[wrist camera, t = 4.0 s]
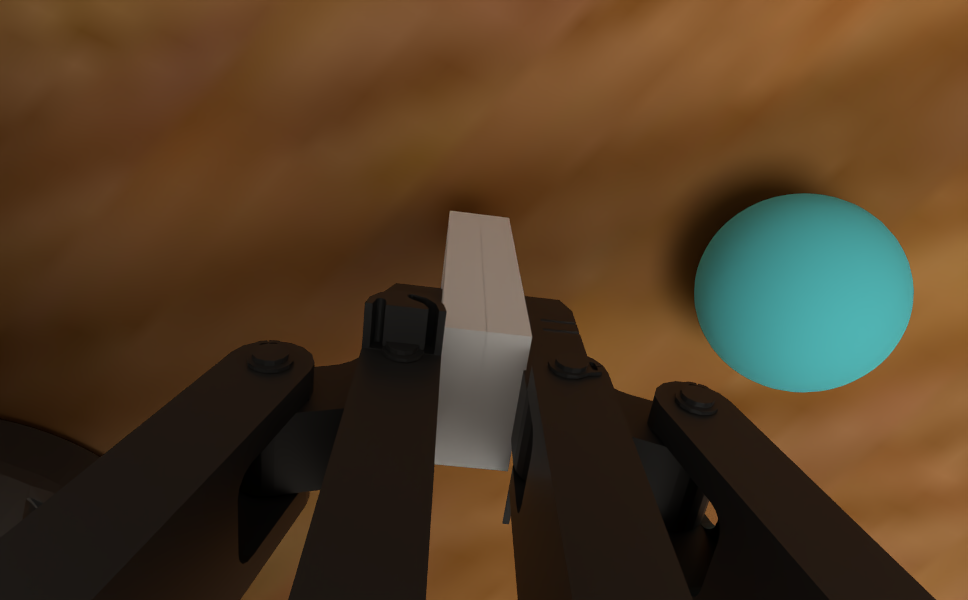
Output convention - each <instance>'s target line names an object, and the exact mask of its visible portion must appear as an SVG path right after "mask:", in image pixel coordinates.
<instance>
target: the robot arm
mask: <svg viewBox="0 0 968 600" xmlns="http://www.w3.org/2000/svg"><path fill="white" fill-rule="evenodd" d="M511 450H512V456H513V469H512V474H511V480H510V485H509V490H508V496H507V501H506V507H505V512H504V517H503V523H502V524H509V521H510V517H511V522H512V534H513V546H514V558H515V570H516V583H517V595H518V600H936V599H935V598H934V597H933V596H931V595H930V594H929V593H928V592H927V591H926V590H925V589H924V588H923V587H922V586H921V585H920V584H919V583H918V582H917V581H916V580H915V579H914V578H913V577H912V576H911V575H910V574H909V573H908V572H907V571H906V570H905V569H903V568H902V567H901V566H900V565H899V564H898V563H897V562H896V561H895V560H894V559H893V558H892V557H891V556H890V555H889V554H888V553H887V552H886V551H885V550H884V549H883V548H882V547H881V546H880V545H879V544H878V543H877V542H875V541H874V540H873V539H872V538H871V537H870V536H869V535H868V534H867V533H866V532H865V531H864V530H863V529H862V528H861V527H860V526H859V525H858V524H857V523H856V522H855V521H854V520H853V519H852V518H851V517H850V516H849V515H847V514H846V513H845V512H844V511H843V510H842V509H841V508H840V507H839V506H838V505H837V504H836V503H835V502H834V501H833V500H832V499H831V498H830V497H829V496H828V495H827V494H826V493H825V492H824V491H823V490H822V489H821V488H819V487H818V486H817V485H816V484H815V483H814V482H813V481H812V480H811V479H810V478H809V477H808V476H807V475H806V474H805V473H804V472H803V471H802V470H801V469H800V468H799V467H798V466H797V465H796V464H795V463H794V462H793V461H792V460H790V459H789V458H788V457H787V456H786V455H785V454H784V453H783V452H782V451H781V450H780V449H779V448H778V447H777V446H776V445H775V444H774V443H773V442H772V441H771V440H770V439H769V438H768V437H767V436H766V435H765V434H764V433H762V432H761V431H760V430H759V429H758V428H757V427H756V426H755V425H754V424H753V423H752V422H751V421H750V420H749V419H748V418H747V417H746V416H745V415H744V414H743V413H742V412H741V411H740V410H739V409H738V408H737V407H736V406H734V405H733V404H732V403H731V402H730V401H729V400H728V399H726V398H725V397H724V396H722V395H721V394H719V393H717V392H715V391H713V390H711V389H709V388H708V387H706V386H704V385H701V384H698V385H697V384H696V383H693V382H677V381H674V382H668V383H663V384H662V385H660V386H659V387H657V388H656V392H655V395H654V399H653V401H650V400H647V399H643V398H640V397H636V396H633V395H629V394H626V393H624V392H621V391H618V390H616V389H614V387H613V385H612V382H611V379H610V377H609V374H608V372H607V371H606V369H605V368H604V367H603V365H601V364H600V363H598V362H597V361H595V360H594V359H592V358H590V357H587V354H586V351H585V348H584V345H583V342H582V339H581V337H580V334H579V331H578V328H577V325H576V322H575V319H574V316H573V313H572V311H571V310H570V309H569V308H568V307H567V306H565V305H564V304H563V303H562V302H561V301H560V300H554V299H545V298H537V297H528V296H524V292H523V287H522V282H521V277H520V272H519V267H518V261H517V256H516V251H515V246H514V241H513V236H512V231H511V226H510V220H509V218H506V217H498V216H490V215H481V214H473V213H465V212H457V211H450V214H449V223H448V231H447V240H446V248H445V257H444V265H443V274H442V282H441V288H433V287H424V286H415V285H406V284H397V283H396V284H395V285H393V286H392V287H390V288H389V289H387V290H386V291H384V292H380V293H378V294H375V295H373V296H370V297H369V299H368V300H367V301H366V302H365V311H364V326H363V340H362V349H361V353H360V356H359V358H357V359H355V360H353V361H350V362H347V363H343V364H339V365H332V366H321V367H314V360H313V356H312V354H311V353H310V352H308V351H307V350H306V349H305V348H303V347H300V346H297V345H295V344H292V343H286V342H280V341H275V340H269V341H259V342H256V343H252V344H248V345H244V346H242V347H240V348H238V349H236V350H234V351H232V352H231V353H230V354H228V355H227V356H226V357H225V358H223V359H222V360H221V361H220V362H218V363H217V364H216V365H215V366H213V367H212V368H211V369H210V370H208V371H207V372H206V373H205V374H204V375H202V376H201V377H200V378H199V379H197V380H196V381H195V382H194V383H192V384H191V385H190V386H189V387H187V388H186V389H185V390H184V391H182V392H181V393H180V394H179V395H177V396H176V397H175V398H174V399H172V400H171V401H170V402H169V403H167V404H166V405H165V406H164V407H162V408H161V409H160V410H159V411H157V412H156V413H155V414H154V415H152V416H151V417H150V418H149V419H147V420H146V421H145V422H144V423H142V424H141V425H140V426H139V427H137V428H136V429H135V430H134V431H132V432H131V433H130V434H129V435H127V436H126V437H125V438H124V439H123V440H121V441H120V442H119V443H118V444H116V445H115V446H114V447H113V448H111V449H110V450H109V451H108V452H106V453H105V454H104V455H103V456H101V457H99V456H97V455H95V454H93V453H92V452H90V451H88V450H86V449H84V448H82V447H80V446H78V445H76V444H73V443H71V442H69V441H67V440H64V439H62V438H60V437H57V436H55V435H52V434H49V433H46V432H44V431H41V430H38V429H35V428H31V427H28V426H25V425H21V424H18V423H13V422H9V421H5V420H0V600H240V599H241V598H242V596H243V595H244V593H245V592H246V591H247V589H248V588H249V586H250V585H251V583H252V582H253V581H254V579H255V578H256V576H257V575H258V573H259V572H260V570H261V569H262V568H263V566H264V565H265V563H266V562H267V560H268V559H269V557H270V556H271V555H272V553H273V552H274V550H275V549H276V547H277V546H278V545H279V543H280V542H281V540H282V539H283V537H284V536H285V534H286V533H287V532H288V530H289V529H290V527H291V526H292V524H293V523H294V522H295V520H296V519H297V517H298V516H299V514H300V513H301V511H302V510H303V509H304V507H305V506H306V503H307V501H308V498H309V493H310V491H314V490H320V493H319V497H318V500H317V503H316V507H315V510H314V514H313V517H312V521H311V524H310V527H309V531H308V534H307V538H306V541H305V544H304V548H303V551H302V555H301V558H300V562H299V565H298V568H297V572H296V575H295V579H294V582H293V586H292V589H291V592H290V596H289V599H288V600H426V587H427V571H428V556H429V540H430V524H431V509H432V493H433V477H434V464H437V465H448V466H458V467H469V468H480V469H491V470H501V471H508V467H509V461H510V456H511ZM709 501H710V502H711V503H712V505H713V507H714V509H715V510H716V513H717V516H718V522H717V523H716V525H713V524H712V523H711V521H710V520H709V519H708V518H707V516H706V515H705V511H706V508H707V505H708V502H709Z"/></svg>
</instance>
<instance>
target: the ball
mask: <svg viewBox="0 0 968 600" xmlns="http://www.w3.org/2000/svg"><path fill="white" fill-rule="evenodd" d="M913 294H914V289H913V279H912V274H911V270H910V266H909V262H908V260H907V258H906V255H905V253H904V251H903V249H902V247H901V245H900V244H899V242H898V241H897V239H896V238H895V236H894V235H893V234H892V233H891V232H890V231H889V230H888V229H887V228H886V226H885V225H884V224H883V223H882V222H881V221H880V220H878V219H877V218H876V217H874V216H873V215H872V214H870V213H869V212H867V211H866V210H864V209H862V208H860V207H859V206H857V205H855V204H852V203H850V202H847V201H844V200H842V199H839V198H836V197H831V196H826V195H820V194H808V193H800V194H788V195H782V196H777V197H773V198H770V199H767V200H763V201H761V202H758V203H756V204H754V205H752V206H750V207H748V208H746V209H745V210H743V211H741V212H740V213H738V214H737V215H735V216H734V217H733V218H731V219H730V220H729V221H728V222H727V223H726V224H725V225H724V226H722V227H721V228H720V230H719V231H718V232H717V233H716V234H715V236H714V237H713V238H712V240H711V241H710V243H709V244H708V246H707V247H706V249H705V251H704V253H703V255H702V257H701V260H700V263H699V266H698V268H697V273H696V277H695V287H694V301H695V309H696V313H697V317H698V321H699V324H700V326H701V329H702V331H703V333H704V335H705V337H706V339H707V340H708V342H709V344H710V345H711V347H712V348H713V350H714V351H715V352H716V353H717V354H718V356H719V357H720V358H721V359H722V360H723V361H724V362H725V363H726V364H728V365H729V366H730V367H731V368H732V369H734V370H735V371H737V372H738V373H740V374H741V375H743V376H744V377H746V378H748V379H750V380H752V381H754V382H756V383H759V384H761V385H764V386H767V387H770V388H773V389H778V390H784V391H790V392H815V391H824V390H829V389H833V388H837V387H840V386H843V385H846V384H848V383H850V382H853V381H855V380H857V379H859V378H861V377H862V376H864V375H866V374H867V373H869V372H870V371H872V370H873V369H875V368H876V367H877V366H878V365H879V364H881V363H882V362H883V361H884V360H885V359H886V358H887V357H888V356H889V354H890V353H891V352H892V351H893V350H894V348H895V347H896V345H897V344H898V342H899V341H900V339H901V338H902V336H903V334H904V332H905V330H906V328H907V325H908V322H909V319H910V316H911V311H912V306H913Z"/></svg>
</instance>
